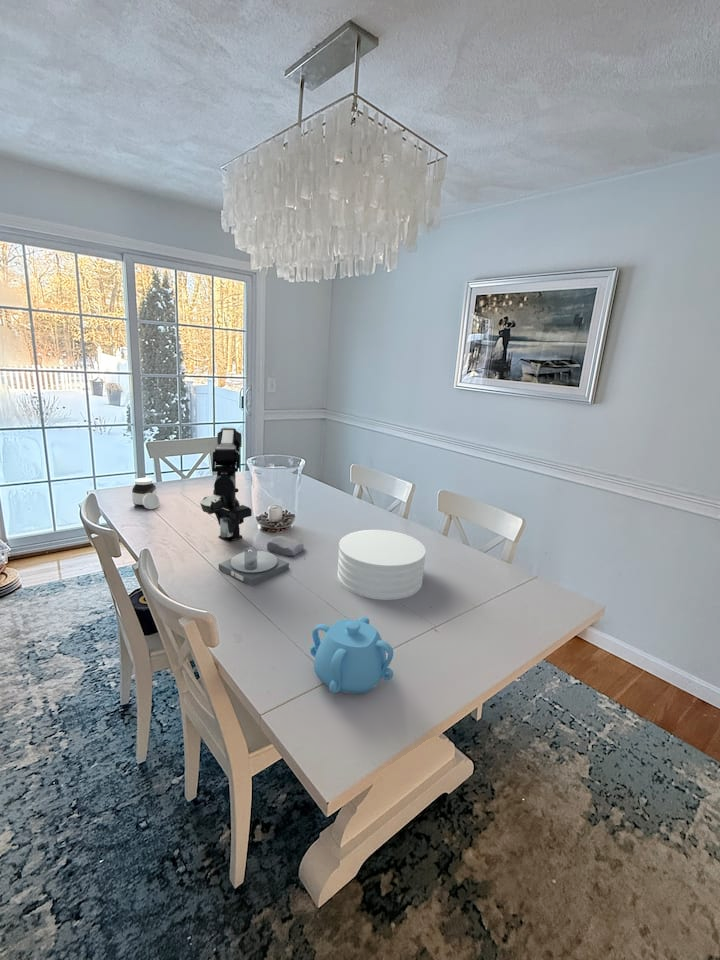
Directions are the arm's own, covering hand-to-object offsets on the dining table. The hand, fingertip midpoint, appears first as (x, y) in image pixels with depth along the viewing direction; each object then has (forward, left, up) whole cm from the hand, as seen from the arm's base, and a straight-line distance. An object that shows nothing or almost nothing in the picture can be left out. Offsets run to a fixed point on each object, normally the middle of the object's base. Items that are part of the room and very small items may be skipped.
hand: (226, 531), depth 148 cm
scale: (+9, +3, -12) cm, 15 cm away
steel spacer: (0, 0, -1) cm, 1 cm away
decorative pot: (+65, -17, -12) cm, 68 cm away
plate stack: (+44, +27, -12) cm, 53 cm away
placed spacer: (+12, -1, -8) cm, 15 cm away
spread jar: (-70, +11, -12) cm, 71 cm away
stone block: (+6, +22, -12) cm, 26 cm away
